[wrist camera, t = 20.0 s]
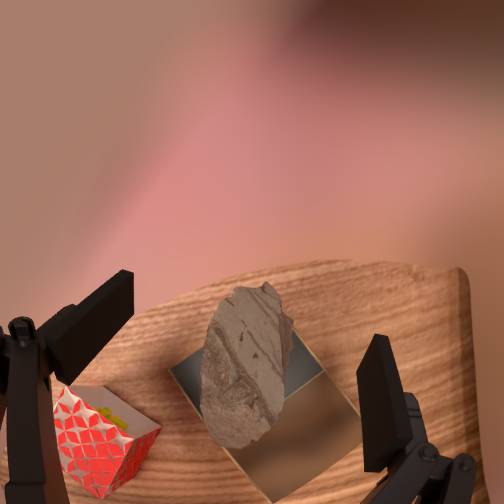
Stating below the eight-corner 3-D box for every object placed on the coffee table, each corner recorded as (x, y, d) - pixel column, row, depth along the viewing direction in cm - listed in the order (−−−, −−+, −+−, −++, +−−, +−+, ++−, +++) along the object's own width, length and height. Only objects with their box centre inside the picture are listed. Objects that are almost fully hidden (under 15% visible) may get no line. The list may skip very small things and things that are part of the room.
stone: (245, 278, 32) (167, 298, 25) (319, 270, 27) (246, 295, 19) (267, 404, 32) (204, 447, 25) (336, 415, 27) (279, 476, 19)
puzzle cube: (162, 426, 27) (134, 439, 20) (132, 478, 24) (101, 499, 17) (102, 385, 29) (64, 384, 21) (76, 437, 26) (36, 445, 19)
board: (170, 369, 30) (166, 369, 28) (272, 302, 32) (273, 298, 31) (270, 500, 24) (271, 505, 22) (370, 430, 27) (375, 431, 25)
